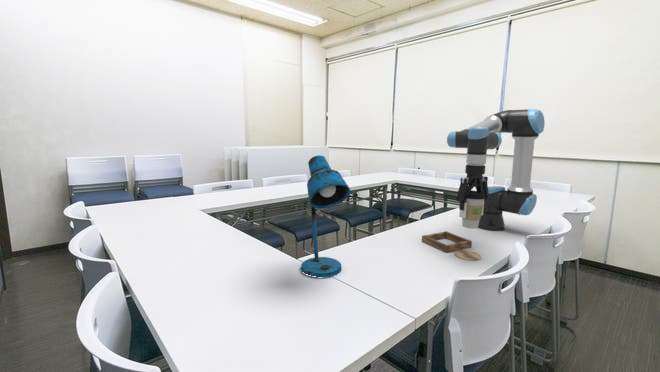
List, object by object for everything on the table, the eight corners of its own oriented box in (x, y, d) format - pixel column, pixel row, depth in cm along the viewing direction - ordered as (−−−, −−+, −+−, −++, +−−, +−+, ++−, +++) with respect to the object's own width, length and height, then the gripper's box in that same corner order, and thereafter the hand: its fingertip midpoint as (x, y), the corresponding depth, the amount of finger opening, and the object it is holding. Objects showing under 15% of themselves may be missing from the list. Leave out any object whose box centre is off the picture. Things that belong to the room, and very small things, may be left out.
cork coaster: (466, 249, 149) (466, 248, 149) (487, 257, 139) (487, 257, 139) (449, 253, 144) (449, 252, 144) (469, 262, 134) (469, 261, 134)
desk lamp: (315, 287, 113) (315, 159, 105) (294, 264, 132) (292, 154, 124) (355, 278, 119) (357, 158, 111) (329, 257, 139) (330, 153, 131)
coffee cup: (485, 230, 133) (488, 195, 131) (460, 229, 135) (463, 194, 133) (479, 223, 143) (482, 190, 140) (456, 222, 145) (458, 189, 142)
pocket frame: (445, 236, 166) (446, 231, 165) (471, 247, 152) (471, 241, 151) (421, 241, 159) (422, 235, 158) (446, 252, 145) (446, 246, 144)
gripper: (486, 162, 143) (481, 211, 146) (449, 164, 133) (445, 216, 137) (501, 164, 136) (496, 215, 140) (463, 166, 126) (459, 221, 130)
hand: (471, 216), depth 138 cm, fingers closed on coffee cup, 10 cm apart
